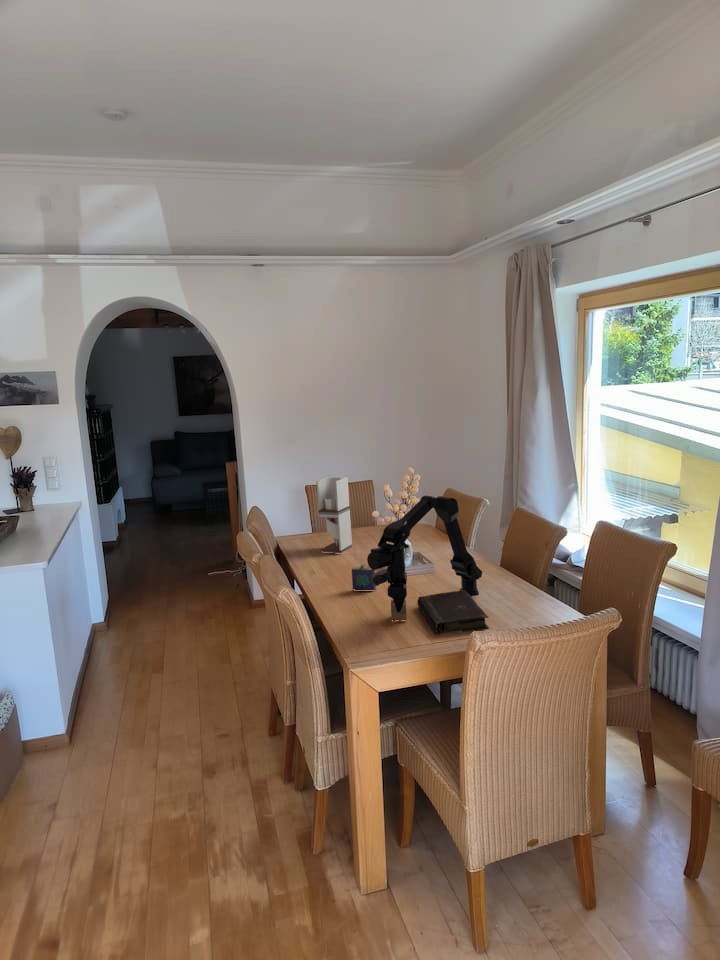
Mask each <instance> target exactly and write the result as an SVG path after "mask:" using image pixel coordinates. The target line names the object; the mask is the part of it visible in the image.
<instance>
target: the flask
mask: <svg viewBox="0 0 720 960" xmlns="http://www.w3.org/2000/svg"><path fill="white" fill-rule="evenodd" d="M365 566H366V564H365V563H362V564H360V566H355V567H352V568H351V581H352V583H351V584H352V590H353V589H355V590H377V586H375V584H374V583H373V580H372V575H373V574H374V573H376V570H372V569H371V568H370V567H365Z"/></svg>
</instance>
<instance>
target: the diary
mask: <svg viewBox="0 0 720 960" xmlns="http://www.w3.org/2000/svg"><path fill="white" fill-rule="evenodd" d="M417 607H418V608H419V609H420V611H421V613H423V615H424V617H425V619H426V620H428V621H427V622H428V624H429V625H430V627H432V630H433V632H434V633H435V635H436V636H437V635H439V633H438V630H439V632H440V633H442V634H444V633H452V632H453V633H454V632H463V633H464V632H465V633H466V632H470V631H471V632H474V631H481V630H487V629H489V628H490V626H488V625H487V623H486V619H487V618H489V616H488V615H487V614H486V613H485V611H484V610H483V609H482V608H481V607H480V606H479V604H478V603H477V602H476V601H475V600H474V599H473V597H472V595H469V594H468V593H467V592H466V590H464V591H460V590H458V591H457V590H456V591H448V592H447V591H446V592H440V593H434V594H428V595H422V596H419V597H418V599H417ZM473 630H474V631H473Z"/></svg>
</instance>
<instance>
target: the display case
mask: <svg viewBox="0 0 720 960" xmlns="http://www.w3.org/2000/svg"><path fill="white" fill-rule="evenodd" d="M348 479H349V478H348V477H347V476H346V477H345V476H343V477H342V476H338V477H337V476H327V477H324V478H322V479H318V480H316V493H317V495H316V497H317V507H318V517H319V518H325V522H326V523H325V524H326V525H325V526H326V533H327V534H328V535H329V536H330V537H332V538H333V542H332V543H330V544H328V545H326V546H325V547H323V548H321V552H322V551H323V552H333V553H343V552H344V551H346V550H348V549H350V548H351V547H352V548H353V539H352V536H353V535H352V525H351V523H352V521H351V513H350V512H351V510H350V494H349V493H350V492H349V480H348ZM350 550H351V549H350Z"/></svg>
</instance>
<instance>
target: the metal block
mask: <svg viewBox="0 0 720 960" xmlns="http://www.w3.org/2000/svg"><path fill="white" fill-rule="evenodd" d="M406 600H407V599H405V600H404V603H403V606H402V609H401V611H400V612H397V610H396V607H395V603H394V600H393V599H391V600H390V614H391V615H390V616H391V617H390V618H391V621H392V620H393V621H395V620H399V621H401V620H408V618H407V615H408V614H407V601H406Z"/></svg>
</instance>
